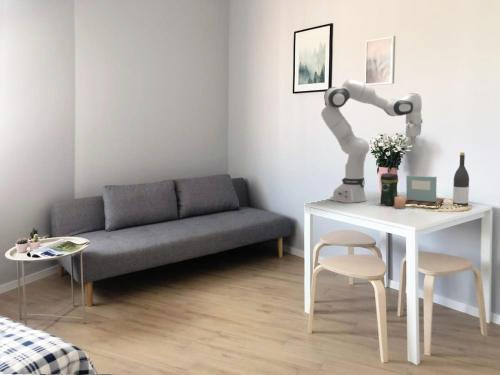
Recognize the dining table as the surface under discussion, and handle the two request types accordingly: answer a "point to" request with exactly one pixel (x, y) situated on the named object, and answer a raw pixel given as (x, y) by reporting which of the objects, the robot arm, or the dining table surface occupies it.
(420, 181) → the teal display board
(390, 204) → the coffee jar
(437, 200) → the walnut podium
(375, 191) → the dining table surface
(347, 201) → the robot arm
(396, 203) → the peach round lump
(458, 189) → the wine bottle
